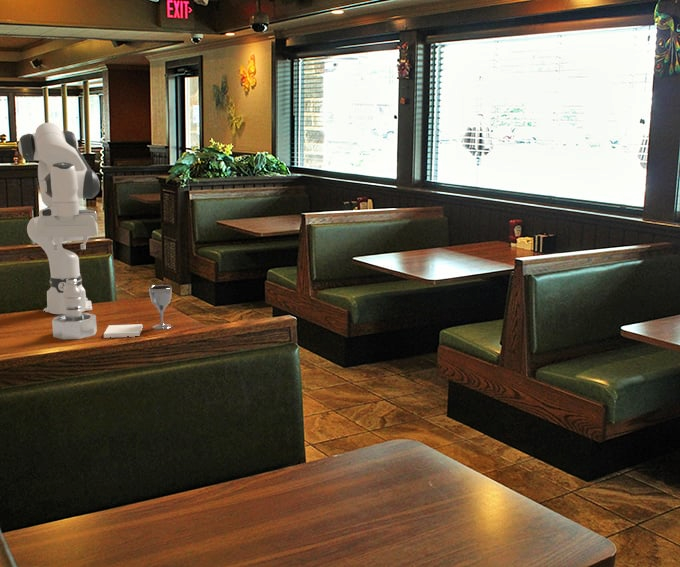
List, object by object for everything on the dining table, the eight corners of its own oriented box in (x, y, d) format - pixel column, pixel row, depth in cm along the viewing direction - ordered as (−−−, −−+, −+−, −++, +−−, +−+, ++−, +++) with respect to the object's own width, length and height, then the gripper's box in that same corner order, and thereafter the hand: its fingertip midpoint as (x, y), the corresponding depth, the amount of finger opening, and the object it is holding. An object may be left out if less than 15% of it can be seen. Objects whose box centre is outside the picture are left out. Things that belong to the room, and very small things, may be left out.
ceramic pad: (109, 329, 289) (108, 325, 288) (142, 328, 290) (142, 324, 290) (103, 337, 277) (103, 333, 277) (138, 336, 279) (138, 332, 278)
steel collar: (59, 329, 288) (58, 313, 287) (98, 328, 290) (97, 312, 289) (50, 339, 275) (49, 323, 274) (92, 338, 276) (90, 321, 275)
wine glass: (154, 330, 287) (152, 290, 284) (148, 325, 294) (146, 286, 291) (175, 327, 290) (174, 287, 287) (169, 323, 297) (168, 284, 294)
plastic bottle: (87, 331, 285) (84, 277, 281) (80, 336, 279) (76, 281, 275) (70, 331, 286) (66, 277, 282) (62, 336, 279) (58, 280, 276)
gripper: (98, 208, 278) (101, 247, 281) (38, 209, 276) (41, 249, 278) (95, 210, 272) (98, 250, 275) (34, 211, 269) (37, 251, 272)
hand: (69, 249), depth 276 cm, fingers open, 8 cm apart
